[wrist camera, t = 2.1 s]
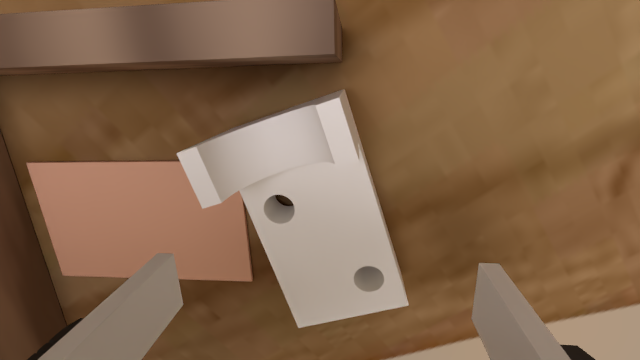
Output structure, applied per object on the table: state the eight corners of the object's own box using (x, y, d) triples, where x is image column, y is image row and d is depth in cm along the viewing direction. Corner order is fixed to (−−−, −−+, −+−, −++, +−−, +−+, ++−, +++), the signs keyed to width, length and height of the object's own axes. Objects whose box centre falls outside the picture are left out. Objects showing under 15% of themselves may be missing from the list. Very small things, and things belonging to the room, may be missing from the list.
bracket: (238, 125, 21) (176, 153, 13) (344, 88, 19) (339, 97, 12) (306, 292, 24) (286, 385, 17) (400, 271, 23) (422, 362, 16)
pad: (66, 273, 25) (62, 275, 25) (30, 161, 22) (26, 162, 22) (253, 279, 24) (252, 281, 23) (239, 159, 21) (238, 161, 21)
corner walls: (51, 338, 28) (-63, 437, 20) (-54, 47, 20) (-292, 32, 13) (345, 353, 25) (342, 474, 17) (341, 27, 18) (333, -7, 10)
